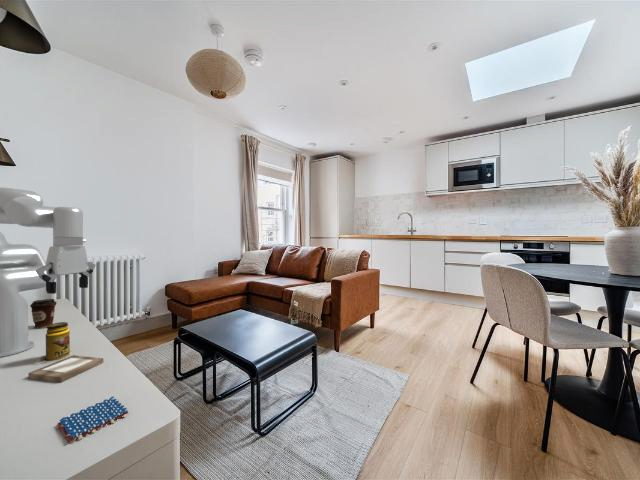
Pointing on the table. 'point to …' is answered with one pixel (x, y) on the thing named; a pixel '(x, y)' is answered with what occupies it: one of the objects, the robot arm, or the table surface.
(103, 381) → the table surface
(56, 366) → the picture frame
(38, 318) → the coffee cup
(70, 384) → the table surface
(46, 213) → the robot arm
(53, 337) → the condiment
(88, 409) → the woven mat
